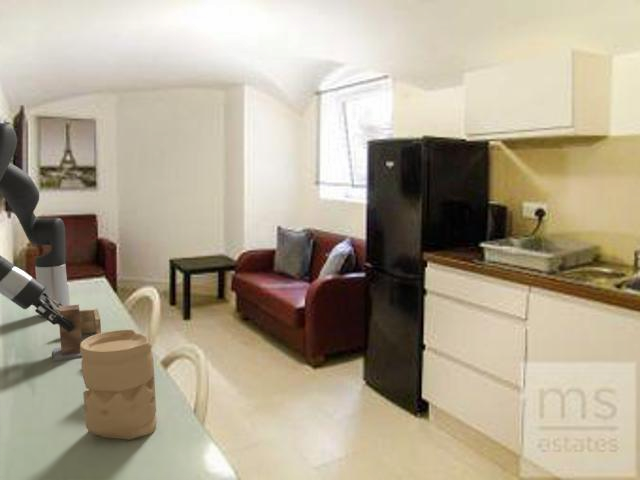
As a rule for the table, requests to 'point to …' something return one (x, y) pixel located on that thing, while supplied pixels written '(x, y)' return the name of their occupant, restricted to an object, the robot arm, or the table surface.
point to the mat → (59, 355)
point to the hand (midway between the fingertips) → (72, 324)
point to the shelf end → (90, 321)
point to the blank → (72, 338)
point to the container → (119, 384)
